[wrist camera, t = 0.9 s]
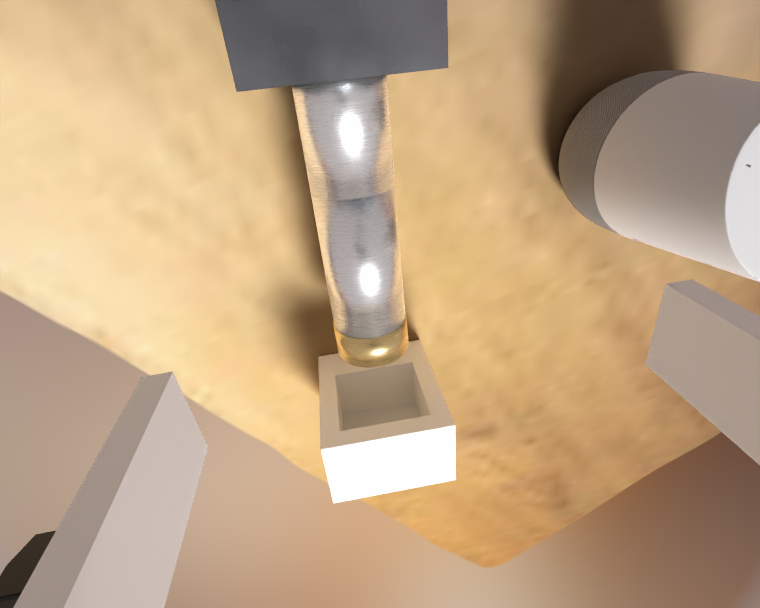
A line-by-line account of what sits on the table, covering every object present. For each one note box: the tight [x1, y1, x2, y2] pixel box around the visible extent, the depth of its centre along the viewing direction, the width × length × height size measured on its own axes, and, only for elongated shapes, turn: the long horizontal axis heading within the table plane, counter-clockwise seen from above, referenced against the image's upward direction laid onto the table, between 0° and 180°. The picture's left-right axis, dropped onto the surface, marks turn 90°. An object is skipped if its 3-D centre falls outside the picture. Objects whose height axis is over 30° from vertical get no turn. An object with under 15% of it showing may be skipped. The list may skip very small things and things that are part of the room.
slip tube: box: [292, 75, 408, 368], centre depth 20 cm, size 26×4×4 cm, turn 6°
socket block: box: [318, 340, 456, 503], centre depth 30 cm, size 5×8×10 cm, turn 96°
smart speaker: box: [559, 70, 760, 282], centre depth 22 cm, size 10×9×14 cm
